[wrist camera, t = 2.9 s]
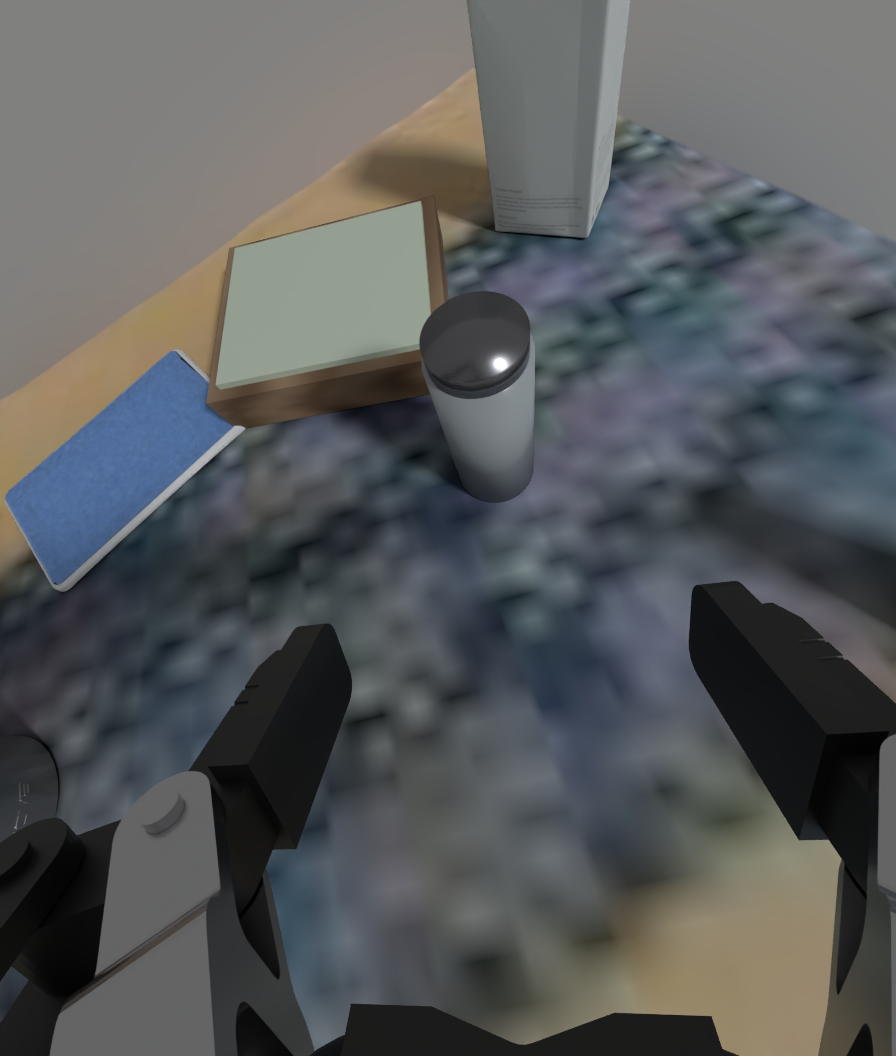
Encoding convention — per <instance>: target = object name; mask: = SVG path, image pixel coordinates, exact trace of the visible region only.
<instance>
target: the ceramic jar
mask: <svg viewBox="0 0 896 1056" xmlns="http://www.w3.org/2000/svg"><path fill="white" fill-rule="evenodd" d="M419 346H420V352H421V355H422V372H423V375H424V378H425V381H426V384H427V386H428V389H429V392H430V395H431V398H432V401H433V403H434V406H435V409H436V412H437V415H438V418H439V420H440V423H441V426H442V429H443V432H444V435H445V438H446V440H447V443H448V446H449V449H450V452H451V455H452V457H453V460H454V463H455V466H456V469H457V472H458V474H459V477H460V480H461V483H462V485H463V487H464V488H465V490H466V491H467V492H468V493H469V494H470V495H472V496H473V497H475V498H476V499H479V500H481V501H485V502H490V503H497V502H504V501H507V500H510V499H512V498H514V497H516V496H518V495H519V494H520V493H521V492H523V491H524V489H525V488H526V487H527V486H528V484H529V482H530V481H531V478H532V474H533V458H534V385H535V345H534V341H533V337H532V335H531V333H530V322H529V319H528V316H527V314H526V312H525V311H524V309H523V308H522V307H521V306H520V305H519V303H517V302H516V301H515V300H513V299H511V298H510V297H508V296H505V295H503V294H499V293H495V292H487V291H480V292H471V293H466V294H462V295H459V296H457V297H454V298H452V299H450V300H448V301H447V302H445V303H443V304H442V305H441V306H439V307H438V308H437V309H436V310H435V311H434V312H433V313H432V314H431V315H430V316H429V317H428V319H427V320H426V322H425V323H424V326H423V328H422V330H421V333H420V339H419Z"/></svg>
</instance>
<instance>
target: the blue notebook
mask: <svg viewBox="0 0 896 1056" xmlns="http://www.w3.org/2000/svg"><path fill="white" fill-rule="evenodd" d="M209 381H210V377H209V376H208V375H207V374H206V373H205V372H204V371H203V370H202V369H201V368H200V367H199V366H198V365H197V364H196V363H195V362H194V361H193V360H192V359H191V358H190V357H189V356H188V355H187V354H185V353H184V352H182V351H181V350H179V349H175V350H172V351H170V352H168V353H167V354H166V355H165V356H164V357H163V358H162V359H160V360H159V361H158V362H157V363H156V364H155V365H153V366H152V367H151V368H150V369H149V370H148V371H146V372H145V373H144V374H143V375H142V376H141V377H140V378H138V379H137V380H136V381H135V382H134V383H133V384H132V385H130V386H129V387H128V388H127V389H126V390H125V391H124V392H122V393H121V394H120V395H119V396H118V397H117V398H116V399H114V400H113V401H112V402H111V403H110V404H109V405H107V406H106V407H105V408H104V409H103V410H102V411H101V412H99V413H98V414H97V415H96V416H95V417H94V418H92V419H91V420H90V421H89V422H88V423H87V424H86V425H84V426H83V427H82V428H81V429H80V430H79V431H77V432H76V433H75V434H74V435H73V436H72V437H70V438H69V439H68V440H67V441H66V442H64V443H63V444H62V445H61V446H60V447H59V448H57V449H56V450H55V451H54V452H53V453H52V454H50V455H49V456H48V457H47V458H46V459H45V460H43V461H42V462H41V463H40V464H39V465H38V466H36V467H35V468H34V469H33V470H32V471H31V472H29V473H28V474H27V475H26V476H25V477H24V478H22V479H21V480H20V481H19V482H18V483H17V484H15V485H14V486H13V487H12V488H11V489H10V490H9V491H8V492H7V493H6V495H5V499H4V501H5V504H6V506H7V508H8V509H9V511H10V513H11V515H12V516H13V518H14V520H15V522H16V523H17V525H18V527H19V529H20V530H21V532H22V534H23V536H24V537H25V539H26V541H27V543H28V545H29V546H30V548H31V550H32V552H33V553H34V555H35V557H36V559H37V560H38V562H39V564H40V566H41V568H42V569H43V571H44V573H45V575H46V577H47V578H48V580H49V582H50V584H51V585H52V587H53V588H54V589H56V590H58V591H61V592H65V591H67V590H69V589H70V588H72V587H73V586H74V585H75V584H76V583H77V582H78V581H79V580H80V579H81V578H82V577H83V576H84V575H85V574H86V573H87V572H88V571H89V570H90V569H91V568H93V567H94V566H95V565H96V564H97V563H98V562H99V561H100V560H101V559H102V558H103V557H104V556H105V555H106V554H108V553H109V552H110V551H111V550H112V549H113V548H114V547H115V546H116V545H117V544H118V543H119V542H121V541H122V540H123V539H124V538H125V537H126V536H127V535H128V534H129V533H130V532H131V531H133V530H134V529H135V528H136V527H137V526H138V525H139V524H140V523H141V522H142V521H144V520H145V519H146V518H147V517H148V516H149V515H150V514H151V513H152V512H153V511H154V510H156V509H157V508H158V507H159V506H160V505H161V504H162V503H163V502H164V501H165V500H167V499H168V498H169V497H170V496H171V495H172V494H173V493H174V492H175V491H176V490H178V489H179V488H180V487H181V486H182V485H183V484H184V483H185V482H186V481H187V480H189V479H190V478H191V477H192V476H193V475H194V474H195V473H196V472H197V471H199V470H200V469H201V468H202V467H203V466H204V465H205V464H206V463H208V462H209V461H210V460H211V459H212V458H213V457H214V456H215V455H217V454H218V453H219V452H220V451H221V450H222V449H223V448H224V447H226V446H227V445H228V444H229V443H230V442H231V441H232V440H234V439H235V438H236V437H237V436H238V435H239V434H240V433H241V432H243V431H244V430H245V429H246V428H244V427H242V426H232V425H231V424H230V423H229V422H228V421H226V420H225V419H224V418H223V417H222V416H220V415H219V414H218V413H217V412H216V411H214V410H213V409H212V408H211V407H210V406H209V405H207V404H206V401H207V395H208V388H209Z"/></svg>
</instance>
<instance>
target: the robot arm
mask: <svg viewBox="0 0 896 1056" xmlns="http://www.w3.org/2000/svg"><path fill="white" fill-rule="evenodd" d="M689 652H690V657H691V661H692V664H693V666H694V669H695V671H696V673H697V675H698V677H699V678H700V680H701V681H702V683H703V685H704V686H705V688H706V690H707V691H708V693H709V694H710V696H711V698H712V699H713V701H714V703H715V704H716V706H717V707H718V709H719V711H720V712H721V714H722V716H723V717H724V719H725V721H726V722H727V724H728V725H729V727H730V729H731V730H732V732H733V734H734V735H735V737H736V738H737V740H738V742H739V743H740V745H741V747H742V748H743V750H744V751H745V753H746V755H747V756H748V758H749V760H750V761H751V763H752V764H753V766H754V768H755V769H756V771H757V773H758V774H759V776H760V778H761V779H762V781H763V782H764V784H765V786H766V787H767V789H768V791H769V792H770V794H771V795H772V797H773V799H774V800H775V802H776V804H777V805H778V807H779V808H780V810H781V812H782V813H783V815H784V817H785V818H786V820H787V822H788V823H789V825H790V826H791V828H792V830H793V831H794V833H795V835H796V836H797V838H798V839H799V840H829V841H830V842H831V844H832V845H833V847H834V848H835V850H836V851H837V853H838V854H839V855H840V857H841V858H842V860H841V863H840V867H839V873H838V885H837V898H836V911H835V923H834V936H833V948H832V961H831V974H830V986H829V997H828V1006H827V1013H826V1018H825V1024H824V1028H823V1032H822V1037H821V1042H820V1048H819V1055H818V1056H896V703H894V702H893V701H892V700H891V699H890V698H889V697H888V696H887V695H886V694H885V693H884V692H882V691H881V690H880V689H879V688H878V687H877V686H876V685H875V684H874V683H873V682H871V681H870V680H869V679H868V678H867V677H866V676H865V675H864V674H863V673H862V672H861V671H859V670H858V669H857V668H856V667H855V666H854V665H853V664H852V663H851V662H850V661H849V660H844V659H843V655H842V654H841V653H840V652H839V651H838V650H836V649H835V648H834V647H833V646H832V645H831V644H830V643H829V642H825V641H824V638H823V637H822V636H821V635H820V634H819V633H818V632H817V631H816V630H815V629H814V628H812V627H811V626H810V625H809V624H808V623H807V622H806V621H805V620H804V619H803V618H801V617H799V616H797V615H795V614H793V613H791V612H789V611H787V610H785V609H784V608H782V607H780V606H778V605H776V604H774V603H765V604H762V603H761V602H760V601H759V600H758V599H757V598H755V597H754V596H753V595H752V594H751V593H750V592H749V591H748V590H747V589H746V588H745V587H744V586H743V585H742V584H741V583H740V582H738V581H730V582H721V583H712V584H702V585H696V586H695V587H694V588H693V591H692V598H691V614H690V630H689ZM351 692H352V678H351V673H350V670H349V667H348V665H347V662H346V659H345V656H344V654H343V651H342V648H341V646H340V643H339V640H338V637H337V635H336V632H335V630H334V628H333V626H332V625H330V624H319V625H309V626H300V627H297V628H295V629H294V631H293V632H292V634H291V635H290V637H289V638H288V640H287V642H286V643H285V645H284V646H283V648H282V650H278V651H275V652H274V653H273V654H272V655H271V656H270V657H269V658H268V659H267V660H265V661H264V662H263V663H262V664H261V665H260V666H259V667H258V668H257V669H256V671H255V672H254V674H253V675H252V677H251V678H250V680H249V681H248V683H247V684H246V686H245V690H242V692H241V693H240V695H239V696H238V698H237V699H236V701H235V702H234V703H235V705H234V706H232V707H231V708H230V710H229V711H228V713H227V714H226V716H225V717H224V719H223V720H222V722H221V723H220V725H219V726H218V728H217V729H216V731H215V732H214V734H213V735H212V737H211V738H210V740H209V741H208V743H207V744H206V746H205V747H204V749H203V750H202V752H201V753H200V755H199V756H198V758H197V759H196V761H195V762H194V764H193V765H192V767H191V768H190V769H189V771H188V772H183V773H179V774H176V775H174V776H171V777H169V778H167V779H165V780H163V781H162V782H160V783H158V784H157V785H155V786H154V787H153V788H151V789H150V790H148V791H147V792H146V793H145V794H144V795H143V796H141V797H140V798H139V799H138V800H137V801H136V802H135V803H134V804H133V806H132V807H131V808H130V809H129V810H128V812H127V813H126V814H125V816H124V817H123V819H122V820H119V821H116V822H113V823H110V824H108V825H105V826H102V827H99V828H97V829H94V830H91V831H88V832H85V833H83V834H80V835H76V834H75V833H74V832H73V831H72V830H71V829H70V827H69V826H68V825H67V824H66V823H65V822H64V821H63V820H61V819H58V818H55V815H56V809H57V802H58V777H57V772H56V768H55V764H54V762H53V760H52V758H51V756H50V753H49V752H48V751H47V750H46V748H45V747H44V746H43V745H42V744H41V743H39V742H38V741H36V740H34V739H33V738H30V737H25V736H9V737H0V981H1V980H2V978H3V977H4V975H5V974H6V972H7V971H8V970H9V968H10V967H11V966H12V967H13V968H14V969H16V970H17V971H18V972H20V973H21V974H22V975H23V976H25V977H26V978H27V979H29V981H28V982H27V984H26V985H25V987H24V988H23V990H22V991H21V993H20V994H19V996H18V997H17V999H16V1001H15V1002H14V1004H13V1005H12V1007H11V1008H10V1010H9V1011H8V1013H7V1014H6V1016H5V1017H4V1019H3V1020H2V1022H1V1023H0V1056H738V1055H736V1054H734V1053H731V1052H729V1051H726V1050H724V1049H722V1047H721V1044H720V1041H719V1038H718V1035H717V1032H716V1029H715V1026H714V1023H713V1019H712V1016H688V1015H660V1014H631V1013H613V1014H610V1015H607V1016H605V1017H602V1018H599V1019H596V1020H594V1021H591V1022H588V1023H586V1024H583V1025H580V1026H578V1027H575V1028H572V1029H569V1030H567V1031H564V1032H561V1033H559V1034H556V1035H553V1036H550V1037H548V1038H545V1039H542V1040H540V1041H537V1042H534V1043H531V1044H527V1045H518V1044H515V1043H512V1042H510V1041H507V1040H505V1039H503V1038H501V1037H498V1036H496V1035H494V1034H492V1033H490V1032H487V1031H485V1030H483V1029H481V1028H478V1027H476V1026H474V1025H472V1024H469V1023H467V1022H465V1021H463V1020H460V1019H458V1018H456V1017H454V1016H452V1015H449V1014H447V1013H445V1012H443V1011H440V1010H438V1009H436V1008H434V1007H430V1006H401V1005H373V1004H351V1007H350V1012H349V1017H348V1022H347V1027H346V1032H345V1035H343V1036H341V1037H339V1038H337V1039H335V1040H333V1041H331V1042H330V1043H328V1044H326V1045H324V1046H323V1047H321V1048H319V1049H317V1050H316V1051H315V1052H314V1048H313V1044H312V1040H311V1037H310V1034H309V1031H308V1027H307V1025H306V1022H305V1019H304V1017H303V1014H302V1012H301V1009H300V1007H299V1005H298V1002H297V1000H296V997H295V994H294V991H293V987H292V983H291V979H290V974H289V970H288V965H287V960H286V955H285V950H284V945H283V940H282V935H281V931H280V926H279V921H278V916H277V911H276V906H275V901H274V896H273V892H272V887H271V882H270V877H269V874H268V872H267V870H266V869H265V867H266V865H267V863H268V860H269V858H270V855H271V853H272V850H275V849H296V848H297V845H298V842H299V840H300V837H301V834H302V831H303V829H304V826H305V823H306V820H307V818H308V815H309V812H310V809H311V806H312V804H313V801H314V798H315V795H316V793H317V790H318V787H319V784H320V781H321V779H322V776H323V773H324V770H325V768H326V765H327V762H328V759H329V757H330V754H331V751H332V748H333V745H334V743H335V740H336V737H337V734H338V732H339V729H340V726H341V723H342V721H343V718H344V715H345V712H346V709H347V707H348V704H349V701H350V698H351Z"/></svg>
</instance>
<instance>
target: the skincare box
mask: <svg viewBox="0 0 896 1056" xmlns="http://www.w3.org/2000/svg"><path fill="white" fill-rule="evenodd" d="M467 5H468V13H469V20H470V29H471V37H472V45H473V53H474V61H475V69H476V77H477V85H478V93H479V102H480V110H481V118H482V126H483V134H484V141H485V150H486V158H487V166H488V174H489V182H490V190H491V198H492V206H493V214H494V223H495V230H496V231H501V232H515V233H528V234H541V235H554V236H565V237H579V238H587V237H588V236H589V233H590V231H591V228H592V226H593V224H594V221H595V219H596V216H597V214H598V211H599V209H600V206H601V204H602V201H603V198H604V196H605V194H606V191H607V188H608V185H609V177H610V169H611V161H612V152H613V144H614V135H615V126H616V118H617V109H618V100H619V91H620V82H621V74H622V65H623V57H624V49H625V40H626V32H627V23H628V14H629V6H630V0H467Z"/></svg>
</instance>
